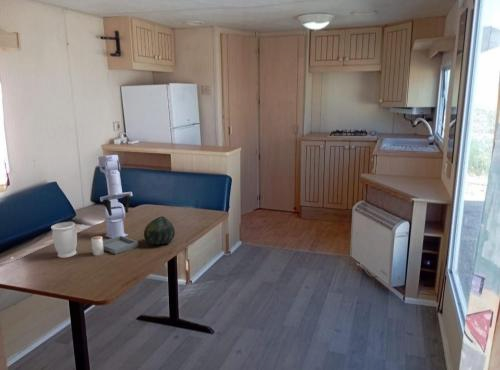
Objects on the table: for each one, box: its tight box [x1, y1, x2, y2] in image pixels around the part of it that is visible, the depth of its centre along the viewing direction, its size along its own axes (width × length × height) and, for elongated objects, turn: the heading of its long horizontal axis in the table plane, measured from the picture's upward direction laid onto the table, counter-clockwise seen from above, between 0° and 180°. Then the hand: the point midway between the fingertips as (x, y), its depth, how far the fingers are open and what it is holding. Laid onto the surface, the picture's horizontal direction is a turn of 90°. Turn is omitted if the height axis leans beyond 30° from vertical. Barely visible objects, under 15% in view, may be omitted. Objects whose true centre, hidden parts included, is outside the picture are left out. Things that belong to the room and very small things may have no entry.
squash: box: [143, 216, 176, 246], centre depth 202 cm, size 14×15×15 cm
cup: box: [90, 235, 105, 257], centre depth 191 cm, size 5×5×8 cm
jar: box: [50, 221, 78, 259], centre depth 190 cm, size 11×10×15 cm
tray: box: [103, 236, 139, 255], centre depth 199 cm, size 15×13×2 cm
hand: (118, 213), depth 185 cm, fingers open, 7 cm apart
